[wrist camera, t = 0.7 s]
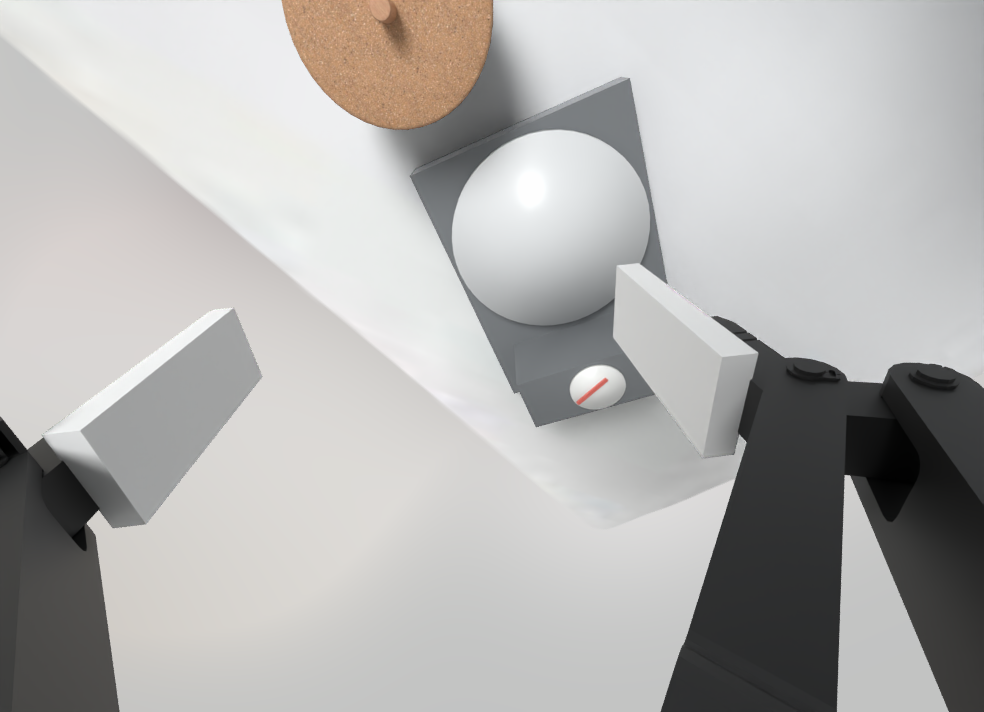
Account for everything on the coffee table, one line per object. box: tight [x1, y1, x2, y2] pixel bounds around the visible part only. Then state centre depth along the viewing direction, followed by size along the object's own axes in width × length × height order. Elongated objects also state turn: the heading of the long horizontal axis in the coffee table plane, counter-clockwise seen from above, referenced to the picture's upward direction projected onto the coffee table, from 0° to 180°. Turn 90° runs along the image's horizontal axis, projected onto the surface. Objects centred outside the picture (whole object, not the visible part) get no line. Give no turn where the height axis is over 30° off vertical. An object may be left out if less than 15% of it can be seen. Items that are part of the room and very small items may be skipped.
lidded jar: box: [282, 0, 493, 130], centre depth 24 cm, size 11×11×9 cm
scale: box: [410, 77, 667, 427], centre depth 33 cm, size 16×22×9 cm
